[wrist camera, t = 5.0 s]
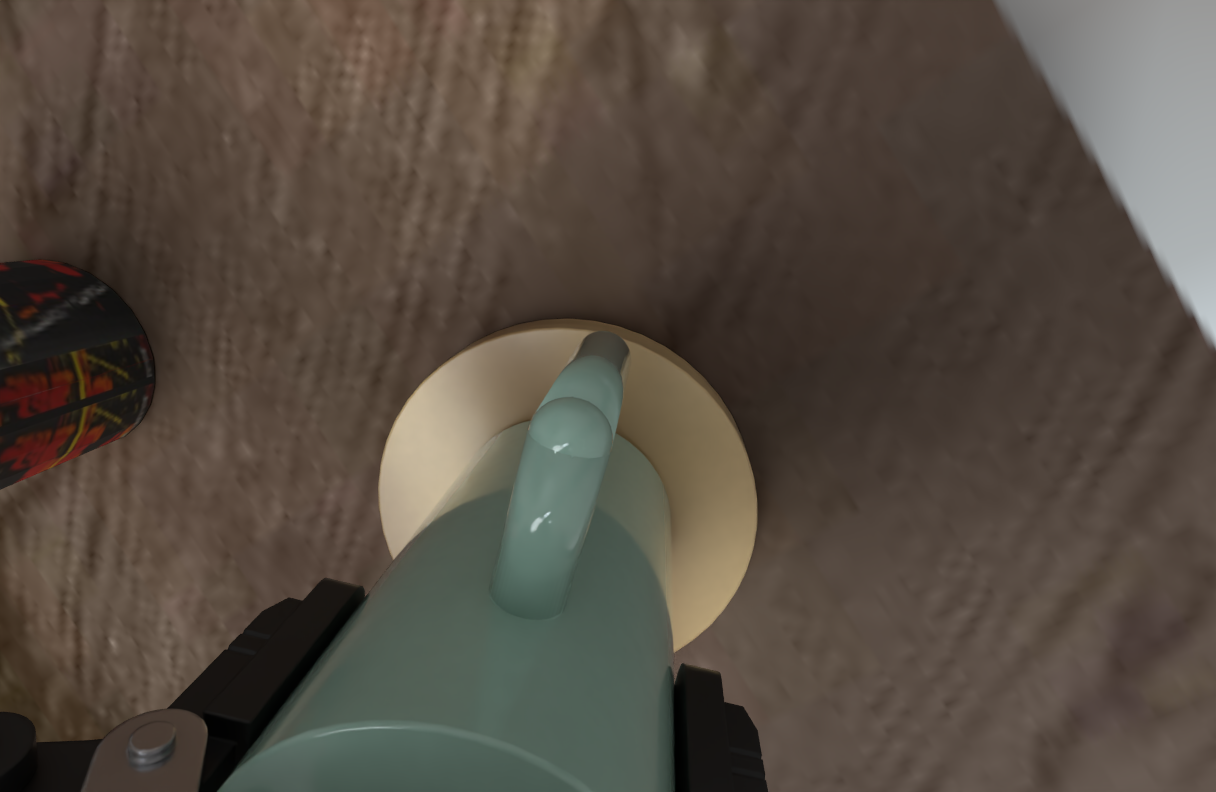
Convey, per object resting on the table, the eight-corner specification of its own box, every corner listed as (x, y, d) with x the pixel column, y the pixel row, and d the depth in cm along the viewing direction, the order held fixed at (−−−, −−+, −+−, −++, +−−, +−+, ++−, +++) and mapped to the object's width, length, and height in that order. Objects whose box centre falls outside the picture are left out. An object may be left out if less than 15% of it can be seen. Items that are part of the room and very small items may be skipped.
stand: (514, 692, 23) (503, 728, 21) (329, 424, 20) (301, 442, 19) (813, 565, 20) (824, 594, 19) (640, 246, 18) (638, 250, 16)
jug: (622, 684, 20) (572, 1213, 10) (427, 628, 20) (163, 1094, 10) (737, 340, 17) (855, 570, 6) (504, 274, 17) (234, 392, 6)
